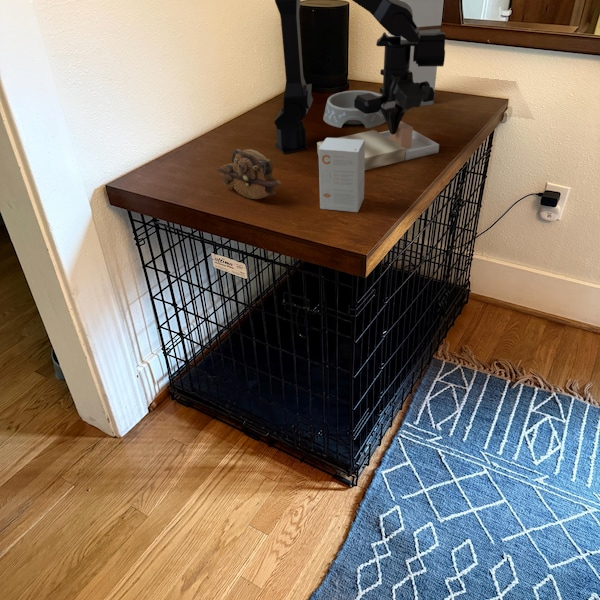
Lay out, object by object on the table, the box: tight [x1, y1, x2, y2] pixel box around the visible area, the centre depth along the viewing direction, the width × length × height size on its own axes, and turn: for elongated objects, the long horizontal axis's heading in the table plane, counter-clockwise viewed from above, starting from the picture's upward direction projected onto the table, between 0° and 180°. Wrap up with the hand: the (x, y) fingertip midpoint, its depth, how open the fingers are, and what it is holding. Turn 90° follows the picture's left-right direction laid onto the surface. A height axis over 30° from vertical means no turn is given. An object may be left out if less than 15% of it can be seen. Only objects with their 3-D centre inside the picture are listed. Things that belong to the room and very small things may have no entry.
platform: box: [316, 129, 405, 171], centre depth 134 cm, size 16×14×3 cm
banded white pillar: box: [387, 0, 444, 107], centre depth 156 cm, size 11×11×35 cm
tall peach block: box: [390, 120, 414, 149], centre depth 137 cm, size 5×5×3 cm
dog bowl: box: [322, 89, 386, 129], centre depth 156 cm, size 17×18×5 cm
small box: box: [318, 137, 365, 213], centre depth 113 cm, size 8×6×13 cm
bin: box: [379, 129, 440, 161], centre depth 139 cm, size 9×14×2 cm
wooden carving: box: [217, 148, 282, 200], centre depth 119 cm, size 16×5×10 cm, turn 55°
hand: (392, 133), depth 136 cm, fingers closed
